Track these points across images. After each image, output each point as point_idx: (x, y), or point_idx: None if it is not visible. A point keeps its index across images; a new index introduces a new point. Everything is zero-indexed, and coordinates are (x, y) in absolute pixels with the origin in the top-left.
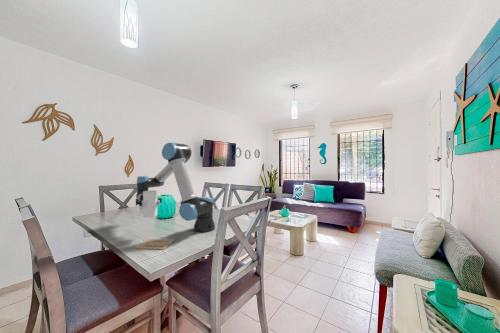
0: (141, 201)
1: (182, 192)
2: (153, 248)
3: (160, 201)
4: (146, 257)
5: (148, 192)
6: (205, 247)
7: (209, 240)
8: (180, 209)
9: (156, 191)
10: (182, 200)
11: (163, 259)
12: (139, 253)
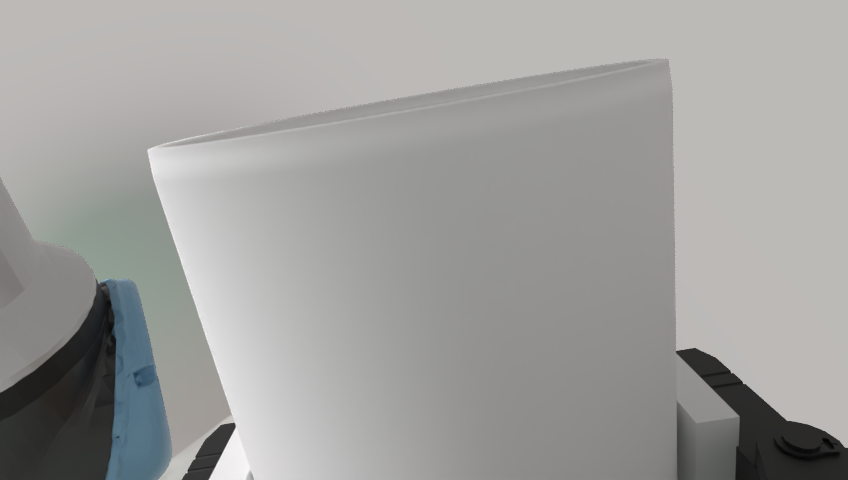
0: (728, 416)
1: (1, 184)
2: None
3: (215, 445)
4: None
5: (479, 93)
6: None
7: (164, 472)
8: (154, 373)
9: (271, 125)
10: (78, 282)
11: None
12: None
